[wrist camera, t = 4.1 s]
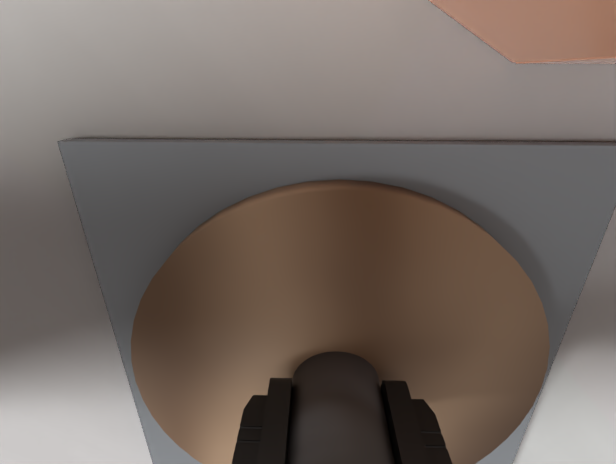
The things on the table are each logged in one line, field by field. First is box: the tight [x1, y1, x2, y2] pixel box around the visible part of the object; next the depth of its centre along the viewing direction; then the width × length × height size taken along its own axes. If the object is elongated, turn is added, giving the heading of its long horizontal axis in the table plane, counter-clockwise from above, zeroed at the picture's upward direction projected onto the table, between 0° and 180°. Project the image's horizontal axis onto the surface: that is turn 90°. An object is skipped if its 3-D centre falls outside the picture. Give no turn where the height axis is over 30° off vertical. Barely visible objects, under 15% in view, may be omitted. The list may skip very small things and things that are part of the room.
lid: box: [131, 179, 550, 464], centre depth 11 cm, size 14×14×5 cm
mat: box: [58, 139, 616, 464], centre depth 13 cm, size 16×16×1 cm
